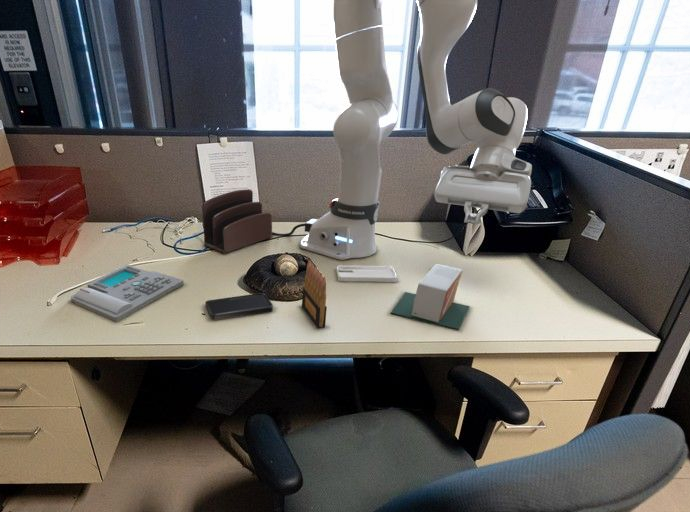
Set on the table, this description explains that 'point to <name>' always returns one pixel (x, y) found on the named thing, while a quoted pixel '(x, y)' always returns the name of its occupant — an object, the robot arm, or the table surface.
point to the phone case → (367, 274)
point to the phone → (238, 306)
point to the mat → (449, 320)
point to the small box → (436, 292)
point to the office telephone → (124, 291)
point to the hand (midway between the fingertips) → (470, 222)
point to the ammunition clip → (315, 296)
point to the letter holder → (234, 221)
